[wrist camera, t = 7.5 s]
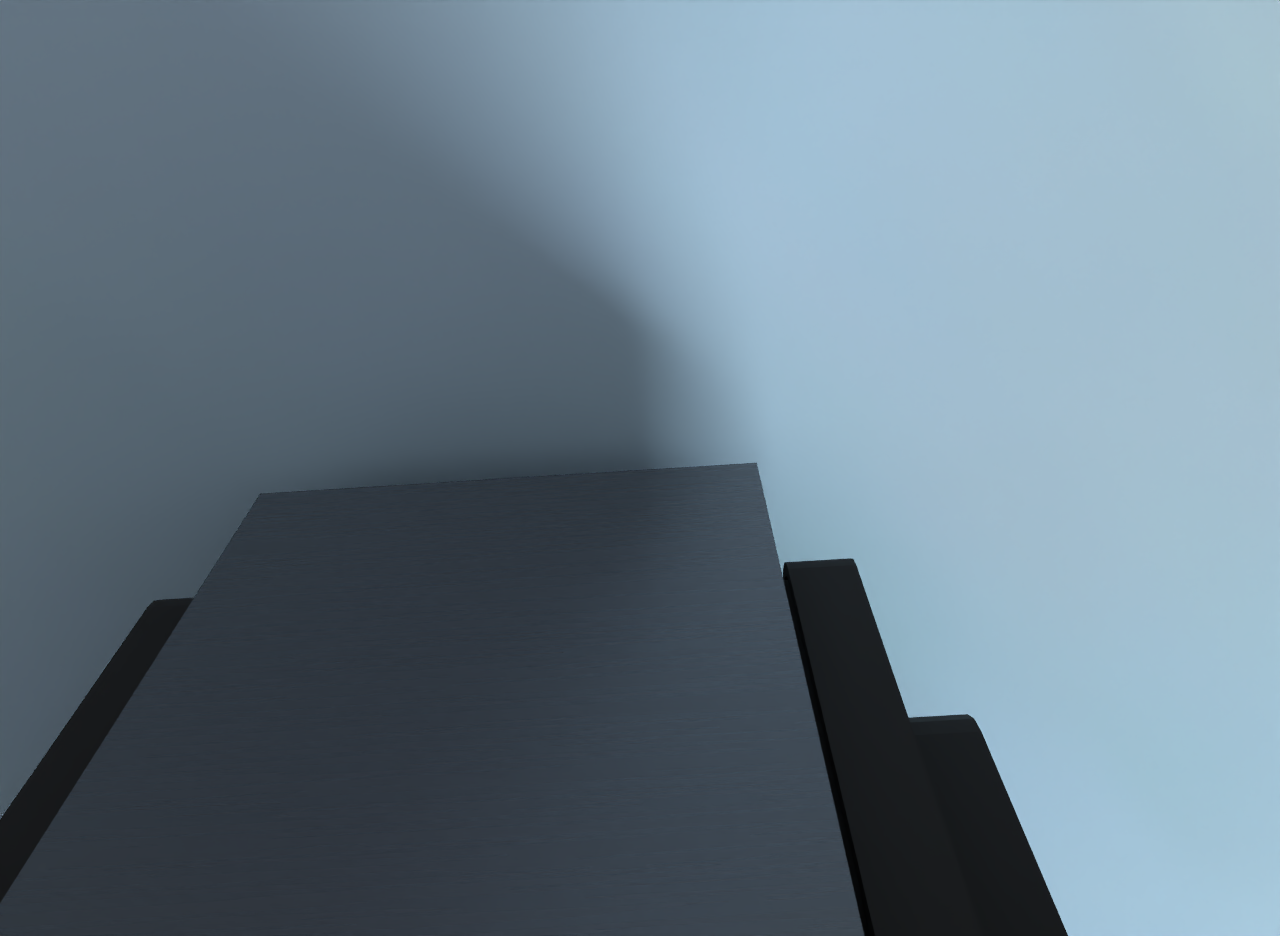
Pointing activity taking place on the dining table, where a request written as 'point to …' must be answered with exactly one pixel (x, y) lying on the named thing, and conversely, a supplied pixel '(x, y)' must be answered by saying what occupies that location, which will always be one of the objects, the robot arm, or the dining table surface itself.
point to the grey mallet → (466, 728)
